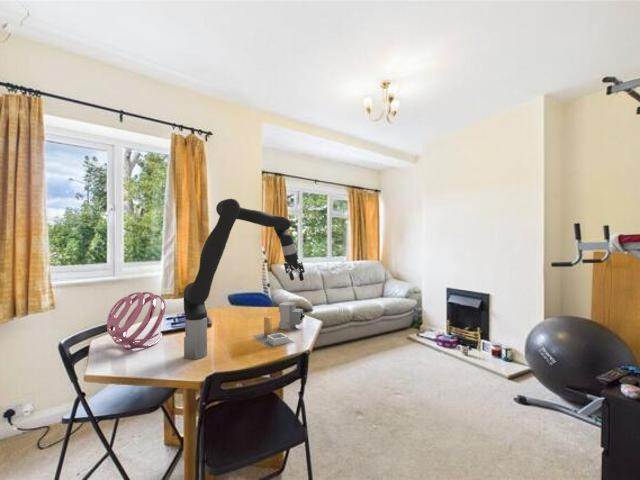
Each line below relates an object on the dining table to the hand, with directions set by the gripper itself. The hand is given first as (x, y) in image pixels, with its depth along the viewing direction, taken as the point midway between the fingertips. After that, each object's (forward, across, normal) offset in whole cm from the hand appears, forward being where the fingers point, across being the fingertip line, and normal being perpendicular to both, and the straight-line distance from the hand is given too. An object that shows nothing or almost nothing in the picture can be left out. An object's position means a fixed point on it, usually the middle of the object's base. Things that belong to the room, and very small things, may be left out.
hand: (297, 280), depth 173 cm
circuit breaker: (+29, -10, -5) cm, 31 cm away
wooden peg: (+23, -7, -24) cm, 34 cm away
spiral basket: (+7, -41, -76) cm, 87 cm away
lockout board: (+24, -1, -25) cm, 35 cm away
